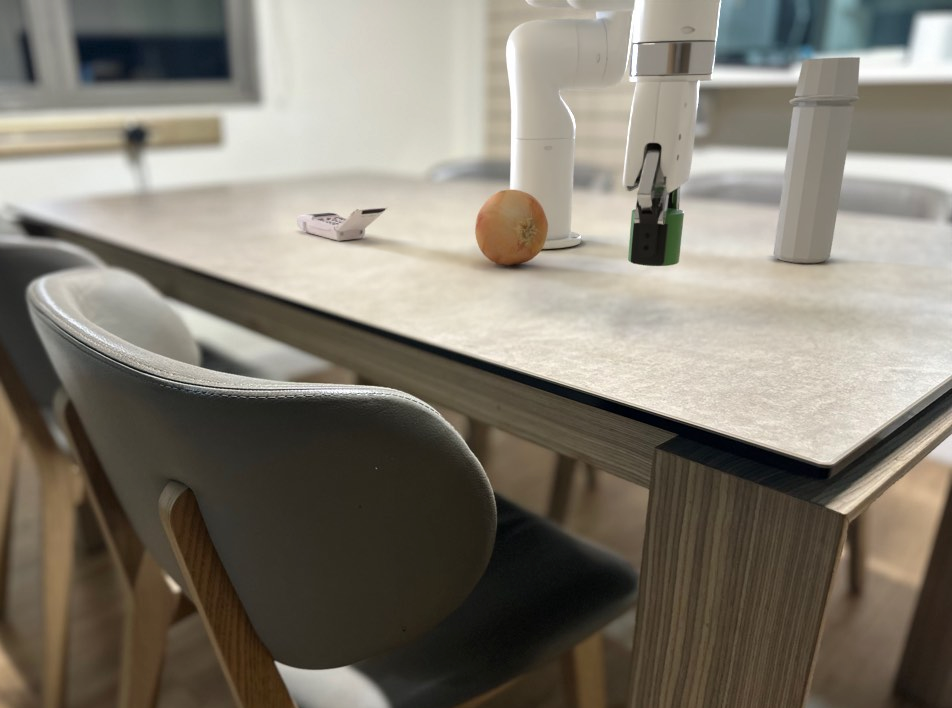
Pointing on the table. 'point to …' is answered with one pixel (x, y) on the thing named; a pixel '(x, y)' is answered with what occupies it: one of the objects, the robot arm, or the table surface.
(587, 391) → the table surface
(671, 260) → the green cylinder with nub
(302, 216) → the mobile phone
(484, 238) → the onion
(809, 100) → the water bottle
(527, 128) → the robot arm
